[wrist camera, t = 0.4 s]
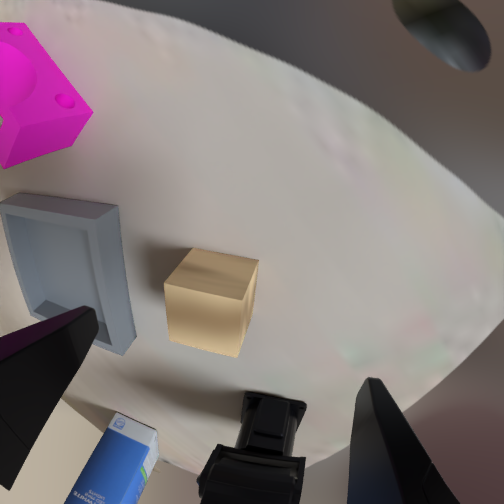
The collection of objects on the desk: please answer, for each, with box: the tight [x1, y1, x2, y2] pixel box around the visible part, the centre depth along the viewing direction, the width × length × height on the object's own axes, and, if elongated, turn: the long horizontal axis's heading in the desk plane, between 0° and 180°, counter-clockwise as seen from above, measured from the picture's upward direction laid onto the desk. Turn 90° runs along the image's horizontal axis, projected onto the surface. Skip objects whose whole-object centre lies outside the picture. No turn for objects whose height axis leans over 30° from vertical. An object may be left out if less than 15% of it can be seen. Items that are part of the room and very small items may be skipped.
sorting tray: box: [0, 193, 137, 356], centre depth 25 cm, size 14×14×3 cm
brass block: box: [164, 248, 259, 358], centre depth 21 cm, size 5×5×5 cm
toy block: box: [0, 22, 93, 169], centre depth 16 cm, size 15×6×8 cm, turn 41°
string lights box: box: [64, 412, 159, 504], centre depth 31 cm, size 13×8×26 cm, turn 167°
